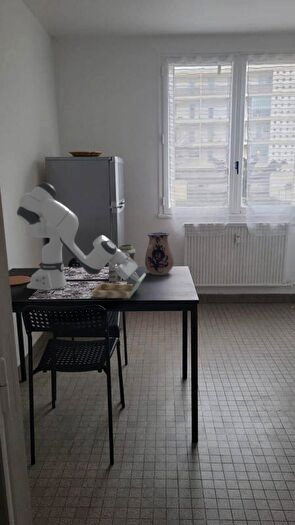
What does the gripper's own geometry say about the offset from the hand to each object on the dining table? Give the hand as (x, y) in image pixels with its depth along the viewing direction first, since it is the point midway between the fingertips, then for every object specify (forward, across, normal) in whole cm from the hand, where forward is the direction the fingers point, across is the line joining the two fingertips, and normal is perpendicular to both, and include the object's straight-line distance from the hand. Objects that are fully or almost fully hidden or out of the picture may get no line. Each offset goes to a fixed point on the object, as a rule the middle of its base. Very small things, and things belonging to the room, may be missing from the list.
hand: (138, 280), depth 207 cm
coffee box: (-8, +26, +20) cm, 34 cm away
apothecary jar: (-6, +43, +19) cm, 48 cm away
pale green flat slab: (+3, 0, +8) cm, 9 cm away
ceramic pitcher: (+8, +46, +5) cm, 47 cm away
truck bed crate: (-4, 0, +16) cm, 16 cm away
